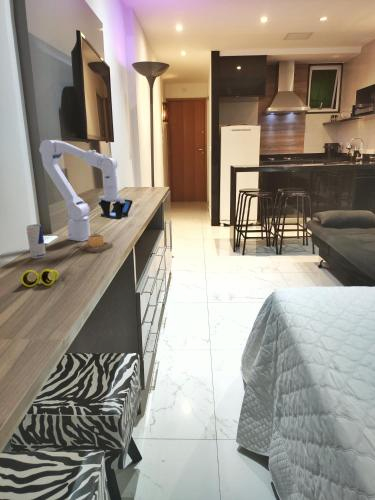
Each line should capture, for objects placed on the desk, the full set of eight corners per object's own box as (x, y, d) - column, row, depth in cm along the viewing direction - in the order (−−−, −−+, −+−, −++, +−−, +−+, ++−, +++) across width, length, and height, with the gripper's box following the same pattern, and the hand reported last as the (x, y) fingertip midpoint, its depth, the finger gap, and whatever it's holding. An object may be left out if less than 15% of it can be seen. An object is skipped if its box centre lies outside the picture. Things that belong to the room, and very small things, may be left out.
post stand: (80, 249, 145) (78, 234, 144) (96, 244, 153) (95, 230, 151) (96, 252, 141) (95, 237, 139) (112, 246, 148) (111, 232, 146)
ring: (86, 245, 146) (85, 237, 145) (96, 242, 150) (95, 234, 149) (96, 247, 143) (95, 238, 142) (106, 243, 147) (105, 235, 146)
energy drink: (49, 255, 139) (44, 224, 136) (39, 259, 135) (34, 227, 131) (37, 254, 141) (33, 223, 138) (27, 258, 136) (22, 226, 133)
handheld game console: (100, 216, 215) (98, 200, 212) (118, 213, 224) (117, 198, 222) (115, 219, 205) (114, 203, 202) (134, 215, 214) (133, 200, 211)
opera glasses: (59, 282, 113) (58, 267, 113) (55, 285, 108) (53, 269, 108) (27, 284, 112) (25, 268, 112) (21, 287, 107) (20, 271, 107)
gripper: (92, 186, 155) (95, 218, 159) (114, 188, 147) (117, 221, 150) (105, 185, 161) (107, 215, 164) (127, 186, 152) (129, 218, 156)
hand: (113, 218), depth 158 cm, fingers open, 7 cm apart
